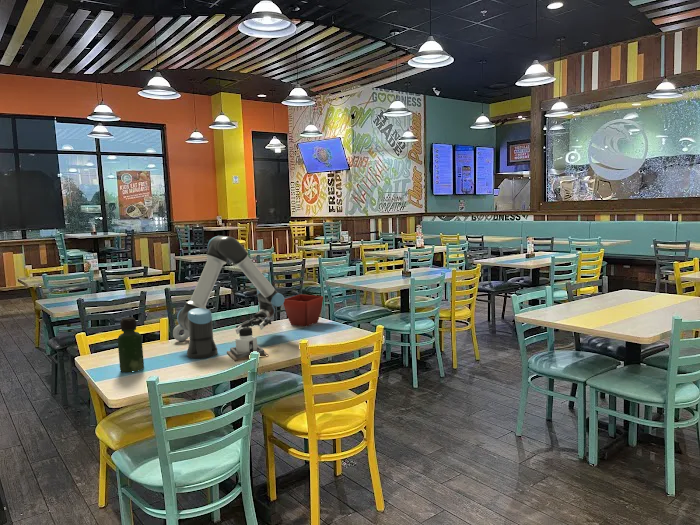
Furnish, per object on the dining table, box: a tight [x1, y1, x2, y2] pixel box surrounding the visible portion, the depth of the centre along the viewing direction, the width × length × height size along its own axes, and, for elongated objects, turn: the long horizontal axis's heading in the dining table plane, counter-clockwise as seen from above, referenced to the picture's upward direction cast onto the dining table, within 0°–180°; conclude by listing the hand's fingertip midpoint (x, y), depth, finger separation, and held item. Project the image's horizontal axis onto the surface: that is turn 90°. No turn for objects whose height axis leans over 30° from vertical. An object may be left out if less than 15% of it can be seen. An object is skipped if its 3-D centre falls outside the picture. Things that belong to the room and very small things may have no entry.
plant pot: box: [283, 294, 324, 327], centre depth 324 cm, size 19×19×17 cm
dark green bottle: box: [117, 316, 145, 373], centre depth 241 cm, size 10×10×25 cm
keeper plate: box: [226, 344, 269, 362], centre depth 260 cm, size 17×17×3 cm
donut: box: [172, 324, 190, 342], centre depth 292 cm, size 10×4×10 cm, turn 126°
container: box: [235, 326, 258, 353], centre depth 260 cm, size 8×8×13 cm
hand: (248, 329), depth 269 cm, fingers open, 13 cm apart
